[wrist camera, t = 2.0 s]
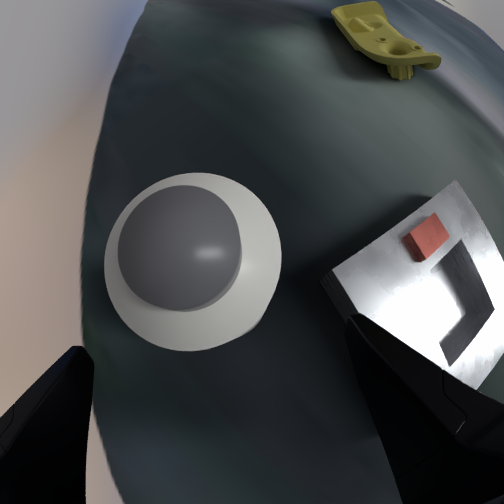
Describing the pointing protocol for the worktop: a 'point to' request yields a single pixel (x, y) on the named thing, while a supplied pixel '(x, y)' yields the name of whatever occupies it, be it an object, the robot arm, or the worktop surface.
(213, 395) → the worktop surface
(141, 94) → the worktop surface
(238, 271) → the plug
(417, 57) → the plastic component
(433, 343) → the socket box
